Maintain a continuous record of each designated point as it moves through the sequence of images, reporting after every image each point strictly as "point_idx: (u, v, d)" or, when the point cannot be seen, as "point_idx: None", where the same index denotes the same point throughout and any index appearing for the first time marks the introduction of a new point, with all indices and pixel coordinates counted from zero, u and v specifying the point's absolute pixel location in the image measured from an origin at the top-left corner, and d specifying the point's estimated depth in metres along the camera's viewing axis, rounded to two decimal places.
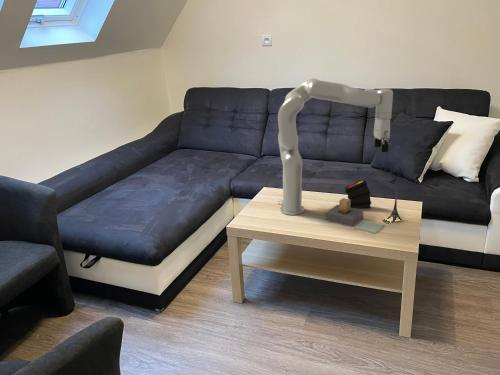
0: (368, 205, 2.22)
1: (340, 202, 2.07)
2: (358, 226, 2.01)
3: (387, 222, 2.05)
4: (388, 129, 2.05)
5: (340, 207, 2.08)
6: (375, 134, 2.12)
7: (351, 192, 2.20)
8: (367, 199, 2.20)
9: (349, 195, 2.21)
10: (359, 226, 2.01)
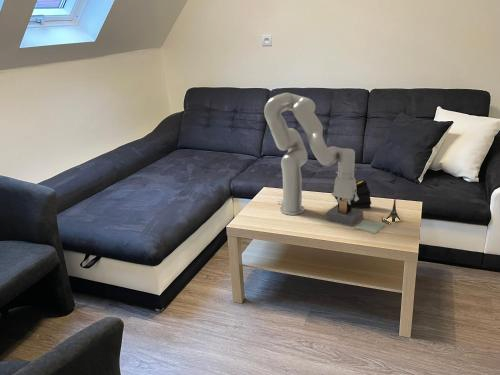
0: (368, 205, 2.22)
1: (340, 202, 2.07)
2: (358, 226, 2.01)
3: (386, 222, 2.05)
4: None
5: (340, 207, 2.08)
6: (339, 194, 2.05)
7: None
8: (367, 199, 2.20)
9: None
10: (359, 226, 2.01)
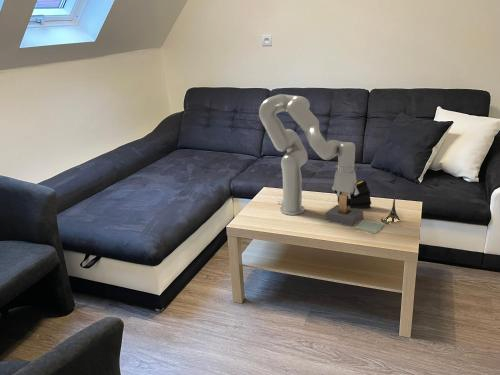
0: (368, 205, 2.22)
1: (340, 196, 2.06)
2: (358, 226, 2.01)
3: (386, 222, 2.05)
4: None
5: (340, 201, 2.07)
6: (339, 188, 2.04)
7: None
8: (367, 199, 2.20)
9: None
10: (359, 226, 2.01)
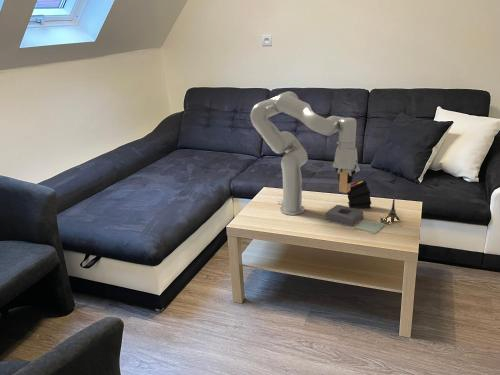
0: (368, 205, 2.22)
1: (341, 173, 2.02)
2: (358, 226, 2.01)
3: (385, 222, 2.05)
4: None
5: (340, 178, 2.03)
6: (340, 165, 2.00)
7: (351, 192, 2.20)
8: (367, 199, 2.20)
9: (349, 195, 2.21)
10: (359, 226, 2.01)
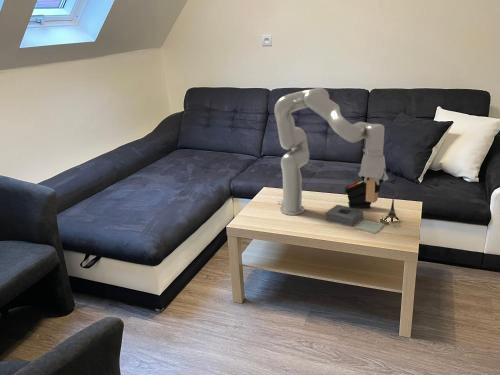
0: (368, 205, 2.22)
1: (367, 182, 1.93)
2: (358, 226, 2.01)
3: (385, 222, 2.05)
4: None
5: (367, 188, 1.94)
6: (367, 174, 1.91)
7: (351, 192, 2.20)
8: None
9: (349, 195, 2.21)
10: (359, 226, 2.01)
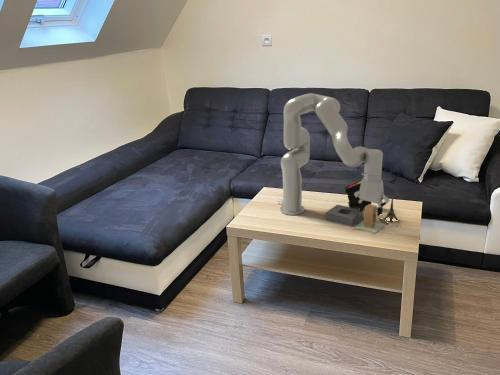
0: None
1: (366, 208, 1.97)
2: (358, 226, 2.01)
3: (384, 223, 2.05)
4: (383, 190, 1.93)
5: (365, 214, 1.98)
6: (366, 198, 1.95)
7: (351, 192, 2.20)
8: None
9: (349, 195, 2.21)
10: (359, 226, 2.01)
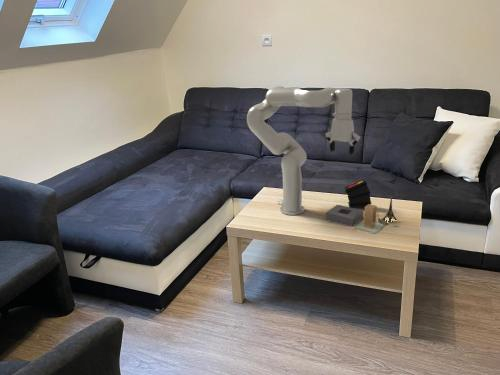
0: None
1: (366, 208, 1.97)
2: (358, 226, 2.01)
3: (383, 223, 2.05)
4: (353, 129, 1.96)
5: (365, 214, 1.98)
6: (336, 137, 1.99)
7: (351, 192, 2.20)
8: (367, 199, 2.20)
9: (349, 195, 2.21)
10: (359, 226, 2.01)
